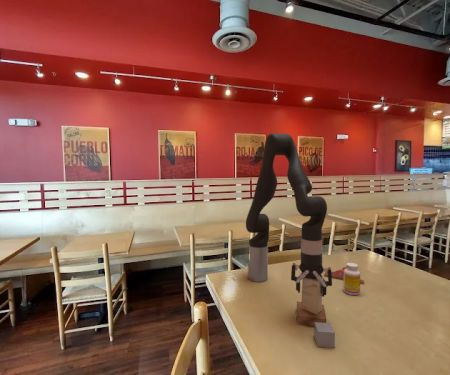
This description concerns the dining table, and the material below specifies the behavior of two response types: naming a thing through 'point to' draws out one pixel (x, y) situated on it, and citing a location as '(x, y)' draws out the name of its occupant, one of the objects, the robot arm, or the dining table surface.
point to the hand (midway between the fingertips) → (311, 293)
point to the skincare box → (311, 295)
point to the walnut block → (309, 316)
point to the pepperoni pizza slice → (340, 275)
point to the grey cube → (324, 334)
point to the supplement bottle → (351, 279)
